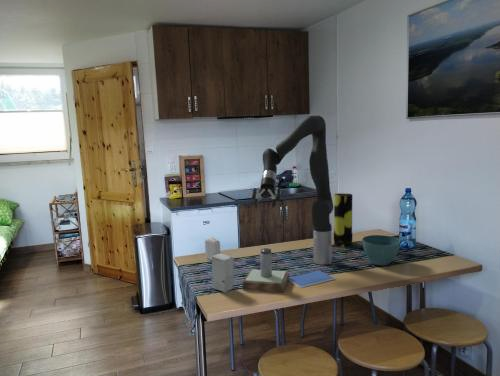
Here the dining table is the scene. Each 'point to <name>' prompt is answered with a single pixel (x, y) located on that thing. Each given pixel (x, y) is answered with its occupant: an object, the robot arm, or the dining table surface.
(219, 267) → the skincare box
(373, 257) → the plant pot
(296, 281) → the blue notebook
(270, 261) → the ceramic jar
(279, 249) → the dining table surface
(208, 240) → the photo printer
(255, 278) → the plinth
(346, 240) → the container
